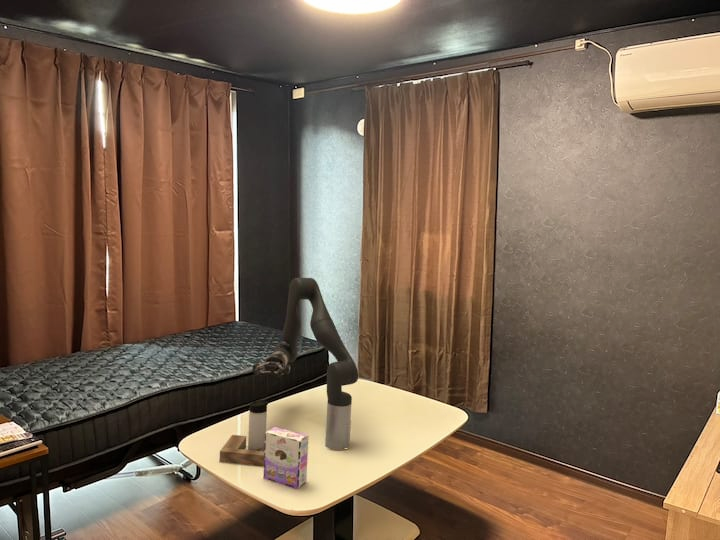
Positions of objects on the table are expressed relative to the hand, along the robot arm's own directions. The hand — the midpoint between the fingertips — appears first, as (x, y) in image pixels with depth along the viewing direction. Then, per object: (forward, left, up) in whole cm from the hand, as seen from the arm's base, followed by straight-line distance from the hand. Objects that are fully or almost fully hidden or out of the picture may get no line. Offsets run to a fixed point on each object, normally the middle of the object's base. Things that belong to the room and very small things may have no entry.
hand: (267, 373), depth 206 cm
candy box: (-14, +28, -27) cm, 41 cm away
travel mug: (0, +11, -27) cm, 29 cm away
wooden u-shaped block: (0, +13, -27) cm, 30 cm away
